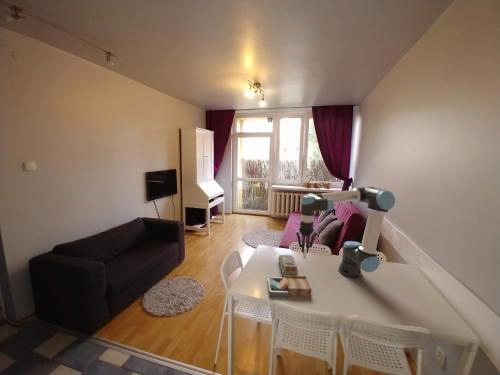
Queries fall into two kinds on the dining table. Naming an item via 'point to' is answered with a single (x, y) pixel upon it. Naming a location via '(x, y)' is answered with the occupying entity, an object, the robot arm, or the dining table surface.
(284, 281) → the tile
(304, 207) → the robot arm
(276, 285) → the tile
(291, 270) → the toy car
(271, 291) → the box
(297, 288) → the brown wooden tray
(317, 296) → the dining table surface
